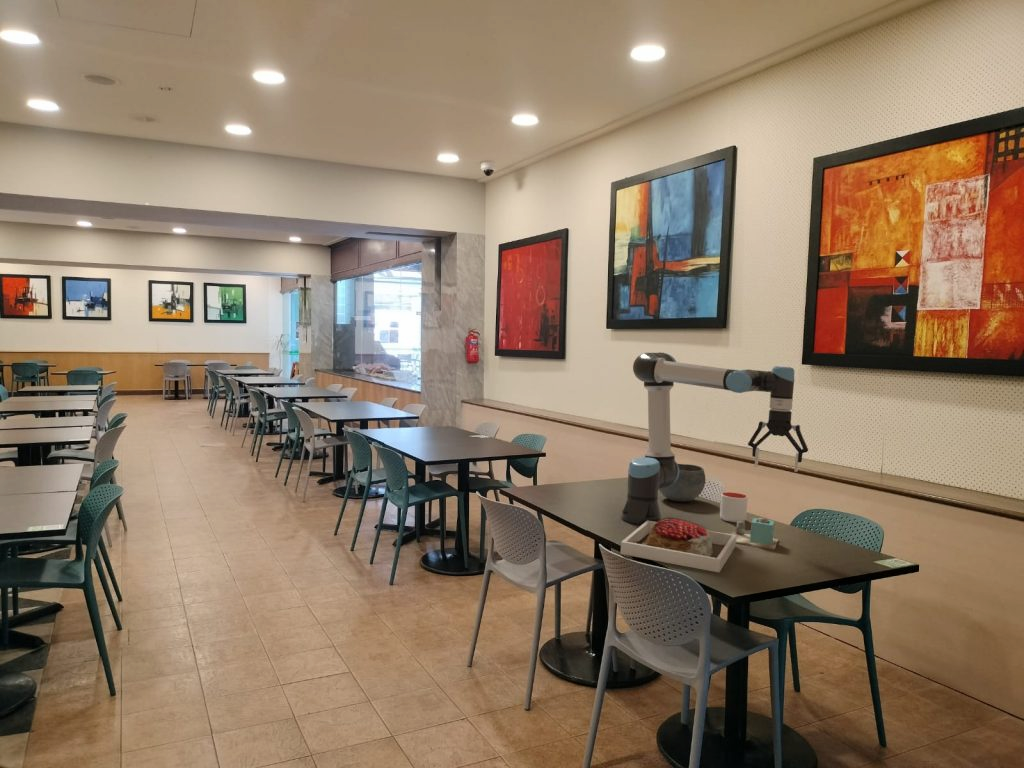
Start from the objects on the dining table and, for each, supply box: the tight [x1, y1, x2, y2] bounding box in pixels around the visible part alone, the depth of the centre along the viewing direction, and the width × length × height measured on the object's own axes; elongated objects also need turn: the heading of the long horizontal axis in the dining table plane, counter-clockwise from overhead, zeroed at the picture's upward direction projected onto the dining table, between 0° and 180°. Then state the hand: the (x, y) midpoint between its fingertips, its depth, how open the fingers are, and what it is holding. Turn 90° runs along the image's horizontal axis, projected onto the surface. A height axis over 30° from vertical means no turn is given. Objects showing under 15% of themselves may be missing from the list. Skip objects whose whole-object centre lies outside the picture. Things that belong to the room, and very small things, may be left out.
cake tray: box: [620, 520, 737, 573], centre depth 237 cm, size 31×31×4 cm
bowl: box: [658, 463, 706, 503], centre depth 308 cm, size 21×21×15 cm
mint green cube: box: [750, 517, 775, 545], centre depth 250 cm, size 7×7×7 cm
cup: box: [719, 491, 749, 524], centre depth 279 cm, size 10×10×10 cm
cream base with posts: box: [730, 517, 779, 550], centre depth 251 cm, size 16×12×9 cm
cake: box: [636, 518, 714, 557], centre depth 234 cm, size 23×24×10 cm
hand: (775, 468), depth 254 cm, fingers open, 13 cm apart
